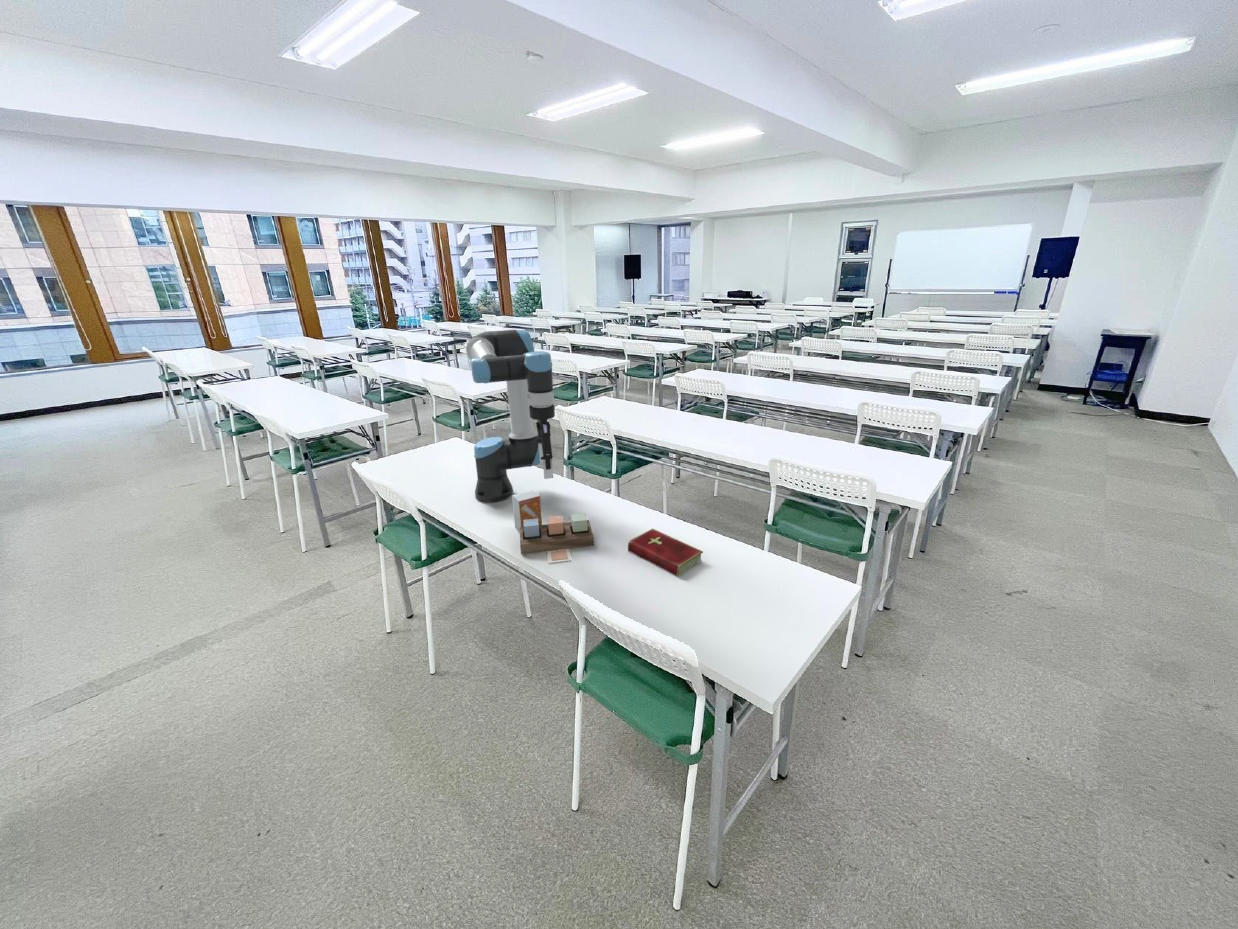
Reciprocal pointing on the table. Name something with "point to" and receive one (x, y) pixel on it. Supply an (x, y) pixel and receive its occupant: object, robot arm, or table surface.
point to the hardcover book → (665, 551)
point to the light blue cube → (531, 527)
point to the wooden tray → (556, 539)
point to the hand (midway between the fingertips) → (546, 469)
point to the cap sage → (579, 522)
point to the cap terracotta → (555, 525)
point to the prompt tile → (559, 556)
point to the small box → (526, 508)
